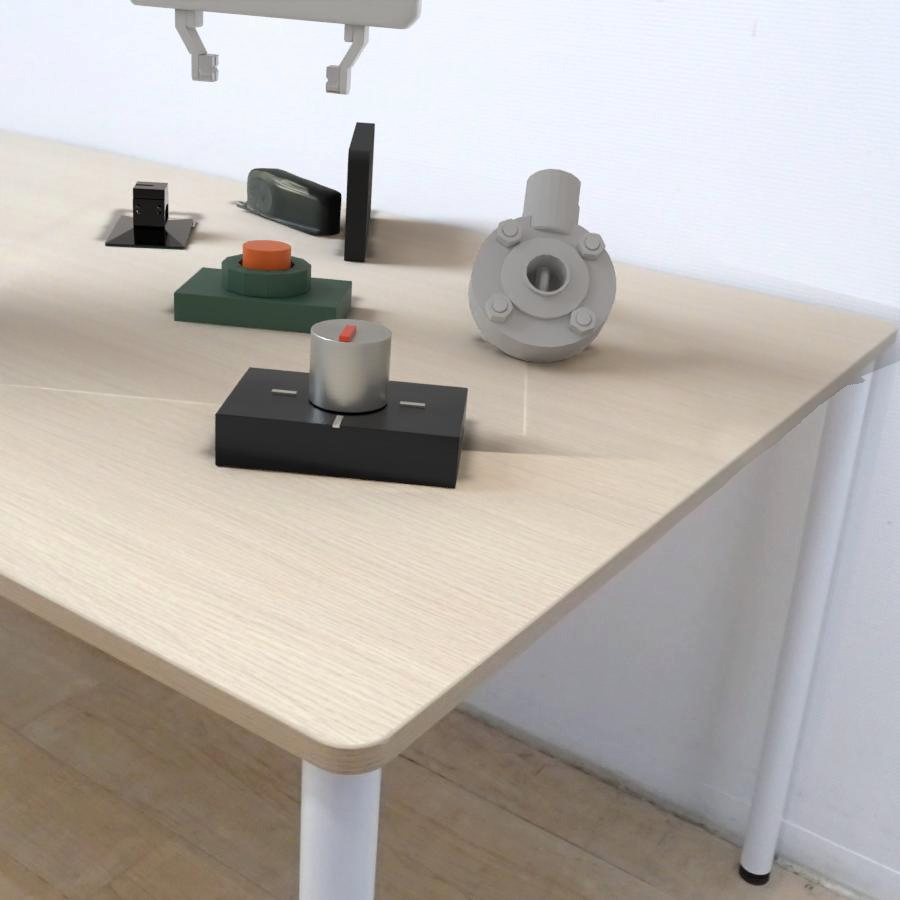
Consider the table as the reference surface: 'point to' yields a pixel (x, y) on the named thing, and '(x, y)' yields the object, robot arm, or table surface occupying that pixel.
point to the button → (266, 255)
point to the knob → (349, 365)
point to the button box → (262, 297)
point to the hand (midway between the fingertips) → (271, 87)
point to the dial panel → (342, 431)
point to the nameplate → (359, 191)
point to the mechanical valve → (543, 276)
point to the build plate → (150, 221)
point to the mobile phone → (293, 201)
